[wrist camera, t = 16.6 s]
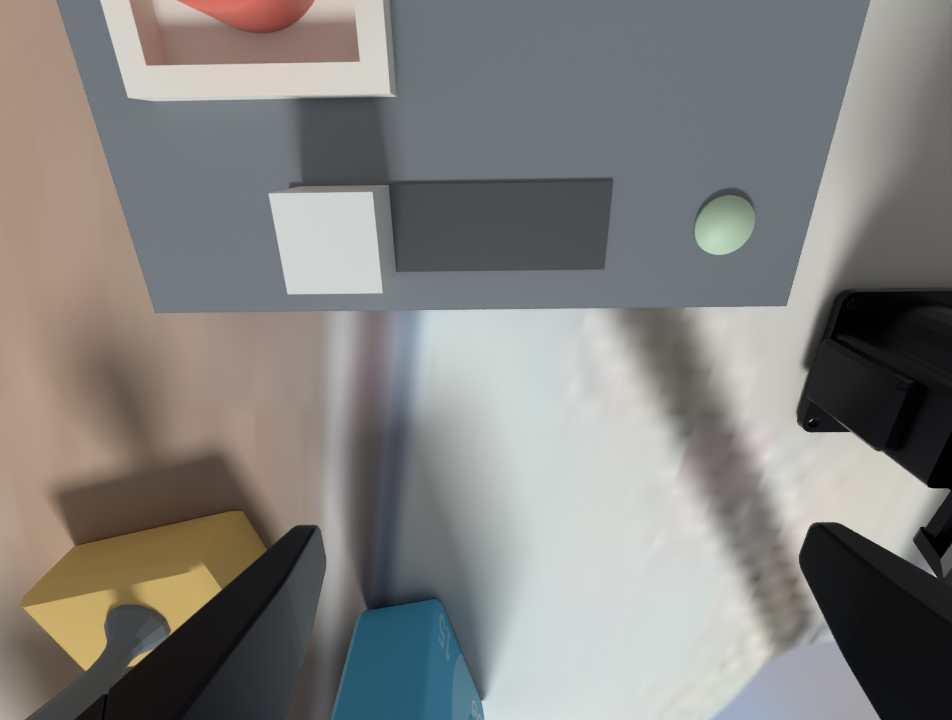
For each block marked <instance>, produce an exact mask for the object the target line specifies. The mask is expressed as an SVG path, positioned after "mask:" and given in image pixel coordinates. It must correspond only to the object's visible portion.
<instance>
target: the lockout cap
mask: <svg viewBox="0 0 952 720" xmlns="http://www.w3.org/2000/svg"><path fill="white" fill-rule="evenodd" d="M177 1H179V2H181V3H183V4H185V5H188V6H190V7H192V8H194V9H196V10H198V11H200V12H202V13H204V14H206V15H209V16H211V17H213V18H215V19H217V20H219V21H221V22H223V23H225V24H227V25H230V26H232V27H234V28H237V29H239V30H242V31H246V32H251V33H272V32H276V31H280V30H283V29H285V28H287V27H289V26H291V25H292V24H294V23H295V22H297V21H298V20H299V19H300V18H301V17H302V16H304V15H305V14H306V12H307V11H308V10H309V8H310V7H311V6H312V4H313V2H314V1H315V0H177Z"/></svg>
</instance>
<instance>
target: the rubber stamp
mask: <svg viewBox="0 0 952 720" xmlns="http://www.w3.org/2000/svg"><path fill="white" fill-rule="evenodd" d="M266 551H267V549H266V547H265V546H264V544H263V542H262V541H261V539H260V538H259V536H258V534H257V533H256V531H255V530H254V528H253V526H252V525H251V523H250V522H249V520H248V519H247V517H246V515H245V514H244V512H243V511H228V512H224V513H219V514H215V515H211V516H206V517H202V518H197V519H193V520H188V521H184V522H179V523H175V524H171V525H166V526H162V527H157V528H153V529H148V530H144V531H140V532H135V533H131V534H126V535H122V536H117V537H113V538H108V539H104V540H100V541H95V542H91V543H86V544H82V545H77V546H74V547H73V548H72V549H71V550H70V551H69V552H68V553H67V554H66V555H65V556H64V557H63V558H62V559H61V560H60V561H59V562H58V563H57V564H56V565H55V566H54V567H53V568H52V569H51V570H50V571H49V572H48V573H47V574H46V575H45V576H44V577H43V578H42V579H41V580H40V581H39V582H38V583H37V584H36V585H35V586H34V587H33V588H32V589H31V590H30V591H29V592H28V593H27V594H26V595H25V596H24V598H23V600H22V602H21V604H20V605H21V606H22V607H23V608H24V609H25V610H26V611H27V612H28V613H29V614H30V615H31V616H32V617H33V618H34V619H35V620H36V621H37V622H38V623H39V624H40V625H41V627H42V628H43V629H44V630H45V631H46V632H47V633H48V634H49V635H50V636H51V637H52V638H53V639H54V640H55V641H56V642H57V643H58V644H59V645H60V646H61V647H62V648H63V649H64V650H65V651H66V652H67V653H68V654H69V655H70V656H71V657H72V658H73V659H74V660H75V661H76V662H77V663H78V664H79V665H80V666H81V667H82V668H83V669H84V670H85V671H86V672H85V673H83V674H82V675H81V676H80V677H79V678H78V679H77V680H76V681H74V682H73V683H72V684H71V685H70V686H68V687H67V688H66V689H65V690H63V691H62V692H61V693H59V694H58V695H57V696H55V697H54V698H53V699H51V700H50V701H49V702H47V703H46V704H45V705H44V706H42V707H41V708H40V709H38V710H37V711H36V712H34V713H33V714H32V715H30V716H29V717H28V718H26V719H25V720H73V719H74V718H75V717H76V716H77V715H79V714H80V713H81V712H82V711H83V710H84V709H86V708H87V707H88V706H89V705H90V704H91V703H92V702H94V701H95V700H96V699H97V698H98V697H99V696H100V695H102V694H104V693H106V694H107V692H108V689H109V688H110V687H111V686H112V685H113V684H114V683H116V682H117V681H118V680H119V679H120V678H121V676H122V674H123V672H124V671H125V669H126V668H127V667H130V666H135V665H136V664H137V663H138V662H140V661H141V660H142V659H143V658H144V657H145V656H146V655H148V654H149V653H150V652H151V651H152V650H153V649H154V648H156V647H157V646H158V645H159V644H160V643H161V642H162V641H164V640H165V639H166V638H167V637H168V636H169V635H171V634H172V633H173V632H174V631H175V630H176V629H177V628H179V627H180V626H181V625H182V624H183V623H184V622H185V621H187V620H188V619H189V618H190V617H191V616H192V615H193V614H195V613H196V612H197V611H198V610H199V609H200V608H201V607H203V606H204V605H205V604H206V603H207V602H208V601H209V600H211V599H212V598H213V597H214V596H215V595H216V594H217V593H219V592H220V591H221V590H222V589H223V588H224V587H225V586H227V585H228V584H229V583H230V582H231V581H232V580H233V579H235V578H236V577H237V576H238V575H239V574H240V573H241V572H243V571H244V570H245V569H246V568H247V567H248V566H250V565H251V564H252V563H253V562H254V561H255V560H256V559H258V558H259V557H260V556H261V555H262V554H263V553H264V552H266Z"/></svg>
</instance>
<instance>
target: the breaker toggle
mask: <svg viewBox="0 0 952 720" xmlns="http://www.w3.org/2000/svg"><path fill="white" fill-rule="evenodd" d="M269 199H270V204H271V209H272V215H273V220H274V225H275V231H276V236H277V241H278V247H279V252H280V257H281V262H282V268H283V273H284V278H285V284H286V289H287V294H365V293H383V292H384V291H385V289H386V288H387V286H388V285H389V283H390V282H391V280H392V279H393V277H394V275H395V274H396V263H395V252H394V240H393V229H392V217H391V205H390V194H389V185H346V186H299V187H294V188H290V189H286V190H281V191H277V192H273V193H269Z"/></svg>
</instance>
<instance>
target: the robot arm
mask: <svg viewBox="0 0 952 720" xmlns="http://www.w3.org/2000/svg"><path fill="white" fill-rule="evenodd" d="M853 298H854V301H853V303H852V304H851V305H850V306H848V303H849V301H850V300H852V299H853ZM847 306H848V307H847ZM813 418H814V419H813ZM811 419H813V421H811V422H809V421H810V420H811ZM797 422H798V425H799V426H801V427H802V428H803V429H804V430H806V431H807V432H852V433H853V434H855V435H856V436H857V437H859V438H860V439H861V440H862V441H864V442H865V443H866V444H868V445H869V446H870V447H871V448H873V449H874V450H876V451H882V452H883V453H885V454H886V455H887V456H889V457H890V458H891V459H892V460H894V461H895V462H896V463H898V464H899V465H900V466H902V467H903V468H904V469H906V470H907V471H908V472H909V473H911V474H912V475H913V476H915V477H916V478H917V479H919V480H920V481H921V482H923V483H924V484H925V485H926V486H928V487H929V488H942V489H944V490H945V491H946V492H948V494H947V495H946V497H945V498H944V499H943V501H942V502H941V504H940V505H939V507H938V508H937V510H936V511H935V513H934V514H933V516H932V517H931V519H930V520H929V522H928V523H927V525H926V526H925V527H920V529H919V530H918V532H917V533H916V535H915V536H914V538H913V541H914V543H915V544H916V546H917V548H918V549H919V551H920V552H921V554H922V555H923V557H924V558H925V560H926V561H927V563H928V564H929V566H930V567H931V569H932V570H933V572H934V573H935V575H936V576H937V578H936V577H935V576H933V575H931V574H929V573H927V572H926V571H924V570H922V569H920V568H919V567H917V566H915V565H913V564H911V563H910V562H908V561H906V560H904V559H902V558H901V557H899V556H897V555H895V554H894V553H892V552H890V551H888V550H886V549H885V548H883V547H881V546H879V545H878V544H876V543H874V542H872V541H870V540H869V539H867V538H865V537H863V536H861V535H860V534H858V533H856V532H854V531H853V530H851V529H849V528H847V527H845V526H844V525H842V524H839V523H835V522H816V523H813V524H812V525H811V526H810V527H809V529H808V532H807V535H806V537H805V540H804V543H803V545H802V548H801V551H800V554H799V564H800V568H801V570H802V572H803V574H804V576H805V579H806V581H807V583H808V585H809V587H810V589H811V591H812V593H813V595H814V597H815V599H816V601H817V603H818V606H819V608H820V610H821V612H822V614H823V616H824V618H825V620H826V622H827V624H828V626H829V628H830V630H831V633H832V635H833V637H834V639H835V641H836V643H837V645H838V647H839V649H840V651H841V652H842V654H843V656H844V658H845V660H846V662H847V663H848V665H849V667H850V668H851V670H852V672H853V674H854V676H855V677H856V679H857V680H858V682H859V684H860V686H861V687H862V689H863V691H864V692H865V694H866V696H867V697H868V699H869V701H870V702H871V704H872V706H873V708H874V709H875V711H876V712H877V714H878V716H879V718H880V719H881V720H952V288H889V289H848V290H845V291H843V292H841V293H840V294H839V295H838V296H837V297H836V299H835V301H834V304H833V308H832V311H831V314H830V317H829V320H828V323H827V326H826V330H825V333H824V336H823V339H822V342H821V345H820V348H819V351H818V354H817V358H816V361H815V364H814V367H813V370H812V373H811V376H810V380H809V383H808V386H807V389H806V392H805V396H804V399H803V402H802V405H801V408H800V411H799V415H798V418H797ZM325 570H326V554H325V549H324V545H323V540H322V535H321V530H320V528H319V527H318V526H317V525H297V526H295V527H293V528H292V529H291V530H290V531H288V532H287V533H286V534H285V535H284V536H283V537H282V538H280V539H279V540H278V541H277V542H276V543H275V544H274V545H272V546H271V547H270V548H269V549H268V550H267V551H266V552H264V553H263V554H262V555H261V556H260V557H259V558H258V559H256V560H255V561H254V562H253V563H252V564H251V565H250V566H248V567H247V568H246V569H245V570H244V571H243V572H241V573H240V574H239V575H238V576H237V577H236V578H235V579H233V580H232V581H231V582H230V583H229V584H228V585H227V586H225V587H224V588H223V589H222V590H221V591H220V592H219V593H217V594H216V595H215V596H214V597H213V598H212V599H211V600H209V601H208V602H207V603H206V604H205V605H204V606H203V607H201V608H200V609H199V610H198V611H197V612H196V613H195V614H193V615H192V616H191V617H190V618H189V619H188V620H187V621H185V622H184V623H183V624H182V625H181V626H180V627H179V628H177V629H176V630H175V631H174V632H173V633H172V634H171V635H169V636H168V637H167V638H166V639H165V640H164V641H162V642H161V643H160V644H159V645H158V646H157V647H156V648H154V649H153V650H152V651H151V652H150V653H149V654H148V655H146V656H145V657H144V658H143V659H142V660H141V661H140V662H138V663H137V664H136V665H135V666H134V667H133V668H132V669H130V670H129V671H128V672H127V673H126V674H125V675H124V676H122V677H121V678H120V679H119V680H118V681H117V682H116V683H114V684H113V685H112V686H111V687H110V688H109V689H108V692H107V694H106V693H104V694H102V695H100V696H99V697H98V698H97V699H96V700H95V701H94V702H92V703H91V704H90V705H89V706H88V707H87V708H86V709H84V710H83V711H82V712H81V713H80V714H79V715H77V716H76V717H75V718H74V719H73V720H285V717H286V714H287V711H288V708H289V705H290V702H291V699H292V696H293V693H294V690H295V687H296V684H297V681H298V678H299V675H300V672H301V669H302V666H303V663H304V660H305V656H306V652H307V648H308V644H309V640H310V636H311V632H312V627H313V623H314V618H315V614H316V610H317V605H318V601H319V596H320V592H321V588H322V583H323V579H324V575H325Z"/></svg>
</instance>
